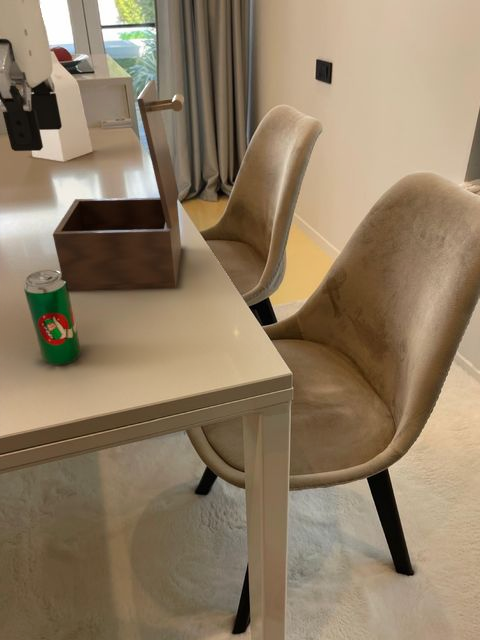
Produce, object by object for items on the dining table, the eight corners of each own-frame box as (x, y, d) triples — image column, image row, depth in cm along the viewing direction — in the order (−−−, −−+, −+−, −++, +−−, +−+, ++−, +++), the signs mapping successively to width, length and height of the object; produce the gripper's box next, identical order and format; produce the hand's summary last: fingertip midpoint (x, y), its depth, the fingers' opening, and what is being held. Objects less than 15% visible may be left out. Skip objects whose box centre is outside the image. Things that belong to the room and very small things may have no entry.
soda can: (58, 343, 79) (39, 265, 72) (89, 350, 77) (72, 271, 71) (35, 363, 75) (12, 282, 68) (67, 370, 73) (47, 289, 67)
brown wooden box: (65, 291, 92) (52, 233, 86) (85, 251, 105) (75, 199, 99) (175, 288, 92) (170, 231, 87) (181, 248, 106) (176, 197, 100)
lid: (136, 99, 76) (176, 93, 76) (149, 80, 89) (182, 75, 89) (167, 228, 87) (201, 223, 86) (174, 194, 100) (204, 190, 100)
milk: (62, 147, 167) (43, 49, 153) (92, 151, 163) (76, 51, 149) (32, 156, 158) (9, 53, 144) (63, 162, 154) (43, 56, 140)
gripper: (-12, -41, 62) (25, 123, 71) (-77, -45, 47) (-20, 160, 57) (57, -41, 62) (85, 121, 72) (14, -45, 48) (56, 158, 57)
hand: (38, 138), depth 64 cm, fingers open, 9 cm apart
